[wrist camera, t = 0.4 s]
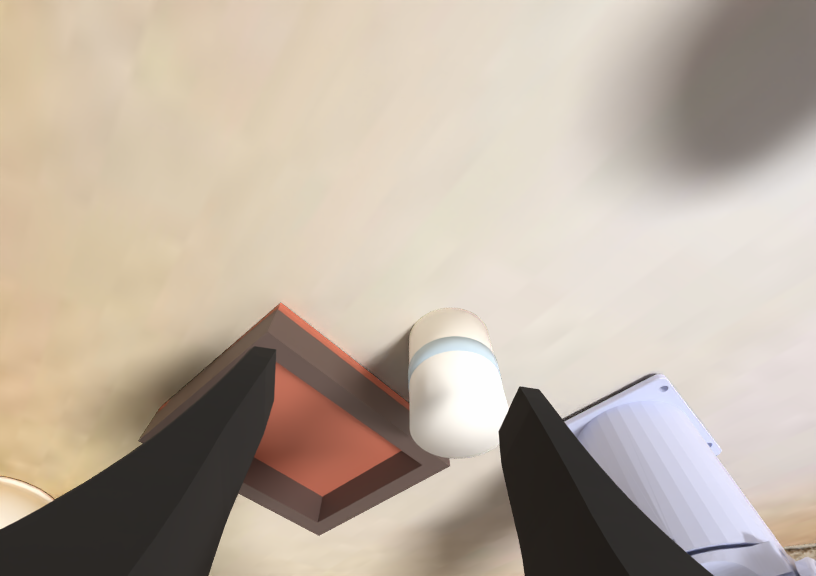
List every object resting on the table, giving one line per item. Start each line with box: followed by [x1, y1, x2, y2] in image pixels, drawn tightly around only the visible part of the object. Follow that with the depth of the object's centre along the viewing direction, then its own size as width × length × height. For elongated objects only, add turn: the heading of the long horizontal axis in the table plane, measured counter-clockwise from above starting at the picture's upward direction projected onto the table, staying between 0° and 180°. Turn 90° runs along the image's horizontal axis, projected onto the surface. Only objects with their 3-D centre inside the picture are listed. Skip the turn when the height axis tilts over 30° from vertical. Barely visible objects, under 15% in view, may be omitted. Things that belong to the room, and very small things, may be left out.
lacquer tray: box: [139, 303, 450, 535], centre depth 26 cm, size 14×12×2 cm
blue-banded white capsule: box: [408, 308, 509, 459], centre depth 21 cm, size 5×5×6 cm
